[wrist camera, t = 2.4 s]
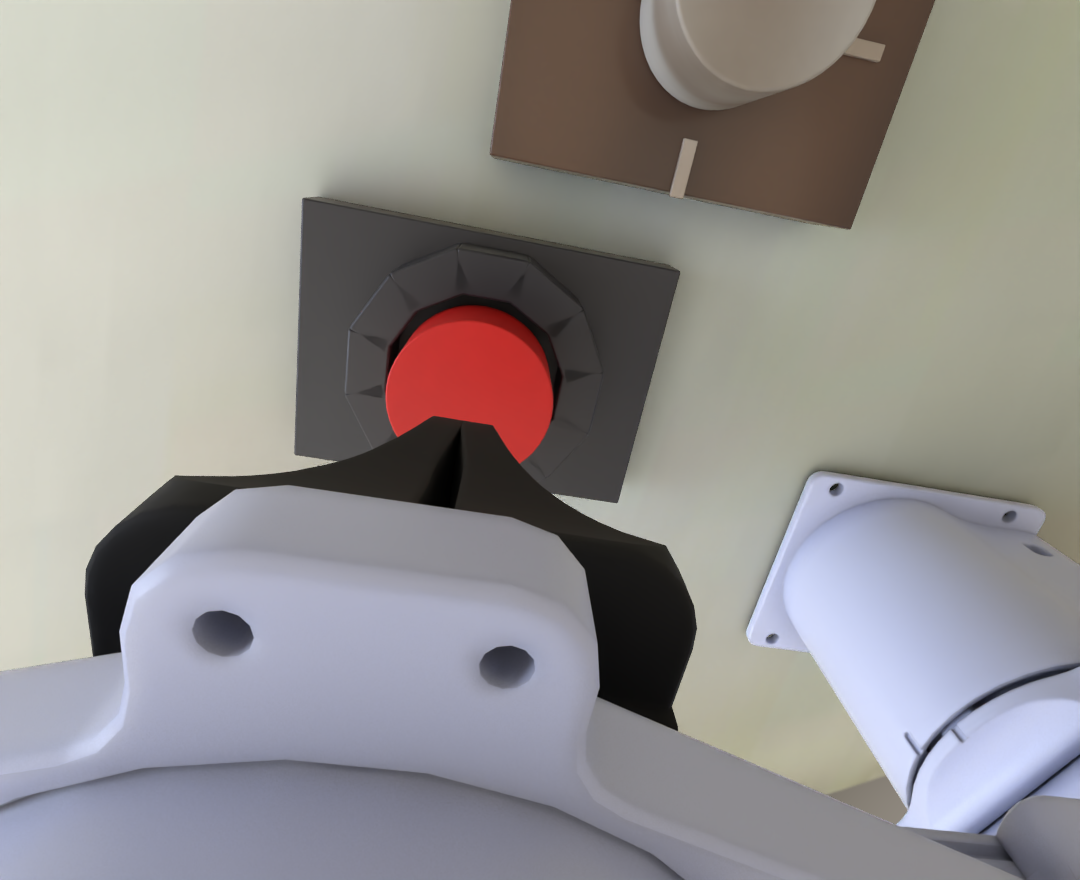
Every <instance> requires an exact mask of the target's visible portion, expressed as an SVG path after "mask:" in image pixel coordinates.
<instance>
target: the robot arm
mask: <svg viewBox="0 0 1080 880" xmlns="http://www.w3.org/2000/svg"><path fill="white" fill-rule="evenodd" d="M835 483H838V486H837V488H836V489H834V490H832V491H829V490H830V487H831V486H832V485H834V484H835ZM1007 512H1008V513H1007ZM1005 513H1007V514H1006V515H1005V516H1003V515H1004V514H1005ZM1045 518H1046V515H1045V512H1044V511H1043V510H1042V509H1040V508H1039V507H1037V506H1035V505H1031V504H1025V503H1019V502H1013V501H1006V500H1000V499H994V498H988V497H982V496H976V495H969V494H963V493H957V492H951V491H945V490H939V489H932V488H926V487H920V486H914V485H908V484H901V483H895V482H889V481H883V480H877V479H871V478H864V477H858V476H852V475H846V474H840V473H834V472H827V471H818V472H816V473H813V474H812V475H811V476H810V477H809V478H808V480H807V482H806V484H805V487H804V489H803V491H802V494H801V496H800V499H799V501H798V504H797V506H796V509H795V511H794V514H793V516H792V519H791V521H790V524H789V526H788V529H787V531H786V533H785V536H784V538H783V541H782V543H781V546H780V548H779V551H778V553H777V556H776V558H775V561H774V563H773V566H772V568H771V570H770V573H769V575H768V578H767V580H766V583H765V585H764V588H763V590H762V593H761V595H760V598H759V600H758V603H757V605H756V607H755V610H754V612H753V615H752V617H751V620H750V622H749V625H748V627H747V630H746V635H747V638H748V640H749V642H750V643H751V644H752V645H756V646H762V647H770V648H778V649H786V650H793V651H801V652H809V653H811V655H812V656H813V658H814V660H815V661H816V663H817V664H818V666H819V668H820V669H821V671H822V673H823V674H824V676H825V677H826V679H827V681H828V682H829V684H830V685H831V687H832V689H833V690H834V692H835V694H836V695H837V697H838V698H839V700H840V702H841V703H842V705H843V706H844V708H845V710H846V711H847V713H848V715H849V716H850V718H851V719H852V721H853V723H854V724H855V726H856V727H857V729H858V731H859V732H860V734H861V735H862V737H863V739H864V740H865V742H866V744H867V745H868V747H869V748H870V750H871V752H872V753H873V755H874V756H875V758H876V760H877V761H878V763H879V765H880V766H881V768H882V769H883V771H884V773H885V774H886V776H887V777H888V779H889V781H890V782H891V784H892V785H893V787H894V789H895V790H896V792H897V793H898V795H899V797H900V798H901V800H902V802H903V803H904V805H905V806H906V808H907V810H908V811H907V812H906V814H905V815H904V817H903V818H902V819H901V820H900V821H899V822H898V823H897V824H896V825H895V824H893V823H891V822H888V821H886V820H884V819H881V818H879V817H877V816H874V815H872V814H870V813H867V812H865V811H862V810H860V809H858V808H856V807H853V806H851V805H848V804H846V803H844V802H842V801H839V800H837V799H834V798H832V797H830V796H827V795H825V794H823V793H820V792H818V791H816V790H813V789H811V788H809V787H806V786H804V785H802V784H799V783H797V782H795V781H792V780H790V779H788V778H785V777H783V776H781V775H778V774H776V773H774V772H771V771H769V770H767V769H764V768H762V767H760V766H757V765H755V764H753V763H750V762H748V761H746V760H743V759H741V758H739V757H736V756H734V755H732V754H729V753H727V752H725V751H722V750H720V749H718V748H715V747H713V746H711V745H708V744H706V743H704V742H701V741H699V740H697V739H694V738H692V737H690V736H687V735H685V734H683V733H680V732H678V726H677V723H676V719H675V716H674V712H673V709H672V704H673V702H674V699H675V696H676V693H677V691H678V688H679V685H680V683H681V680H682V677H683V674H684V672H685V669H686V666H687V663H688V661H689V658H690V655H691V653H692V650H693V645H694V640H695V635H696V630H697V626H696V618H695V610H694V605H693V603H692V600H691V598H690V595H689V593H688V591H687V588H686V585H685V583H684V581H683V578H682V576H681V574H680V572H679V569H678V567H677V566H676V564H675V562H674V560H673V558H672V556H671V554H670V553H669V551H668V549H667V547H666V546H665V545H662V544H658V543H655V542H652V541H649V540H646V539H642V538H639V537H636V536H633V535H629V534H626V533H623V532H621V531H618V530H616V529H614V528H611V527H609V526H607V525H604V524H602V523H600V522H597V521H595V520H593V519H591V518H589V517H587V516H585V515H584V514H582V513H580V512H578V511H577V510H575V509H573V508H572V507H570V506H568V505H567V504H565V503H564V502H562V501H561V500H559V499H558V498H556V497H555V496H554V495H552V494H551V493H550V492H549V491H547V490H546V489H545V488H544V487H542V486H541V485H540V484H539V483H538V482H537V481H536V480H534V479H533V478H532V477H531V476H530V474H529V473H528V472H527V471H526V470H525V469H524V468H523V467H522V466H521V465H520V464H519V463H518V461H517V460H516V459H515V458H514V456H513V455H512V454H511V452H510V451H509V450H508V448H507V447H506V445H505V444H504V442H503V440H502V439H501V437H500V436H499V434H498V432H497V431H496V429H495V428H494V426H493V425H489V424H482V423H476V422H470V421H464V420H457V419H451V418H445V417H439V416H432V417H430V418H429V419H427V420H425V421H424V422H422V423H421V424H419V425H417V426H416V427H414V428H413V429H411V430H409V431H407V432H406V433H404V434H402V435H401V436H399V437H397V438H395V439H393V440H391V441H389V442H387V443H385V444H383V445H381V446H378V447H376V448H374V449H372V450H370V451H368V452H365V453H363V454H360V455H357V456H354V457H351V458H348V459H345V460H342V461H339V462H335V463H331V464H327V465H322V466H317V467H312V468H307V469H303V470H298V471H292V472H284V473H276V474H266V475H252V476H174V477H173V478H172V479H170V480H169V481H168V482H167V483H165V484H164V485H163V486H162V487H161V488H159V489H158V490H157V491H156V492H155V493H153V494H152V495H151V496H150V497H149V498H147V499H146V500H145V501H144V502H143V503H142V504H141V505H139V506H138V507H137V508H136V509H135V510H134V511H132V512H131V513H130V514H129V515H128V516H127V517H126V518H124V519H123V520H122V521H121V522H120V523H119V524H117V525H116V526H115V527H114V528H113V529H112V530H111V531H110V532H109V533H108V534H107V535H106V536H105V537H104V538H103V539H102V540H101V542H100V543H99V544H98V545H97V546H96V547H95V550H94V552H93V554H92V557H91V559H90V561H89V563H88V566H87V568H86V580H85V599H86V607H87V614H88V622H89V629H90V637H91V644H92V652H93V657H88V658H82V659H75V660H69V661H63V662H56V663H50V664H44V665H37V666H31V667H25V668H18V669H12V670H6V671H0V880H1080V565H1079V564H1077V563H1076V562H1074V561H1073V560H1072V559H1070V558H1069V557H1067V556H1066V555H1064V554H1063V553H1061V552H1060V551H1058V550H1057V549H1055V548H1054V547H1052V546H1051V545H1050V544H1048V543H1047V542H1045V541H1044V540H1042V539H1041V538H1039V537H1038V536H1036V535H1037V533H1038V532H1039V530H1040V528H1041V527H1042V525H1043V523H1044V521H1045ZM770 634H774V635H772V636H770V637H767V636H768V635H770Z"/></svg>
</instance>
